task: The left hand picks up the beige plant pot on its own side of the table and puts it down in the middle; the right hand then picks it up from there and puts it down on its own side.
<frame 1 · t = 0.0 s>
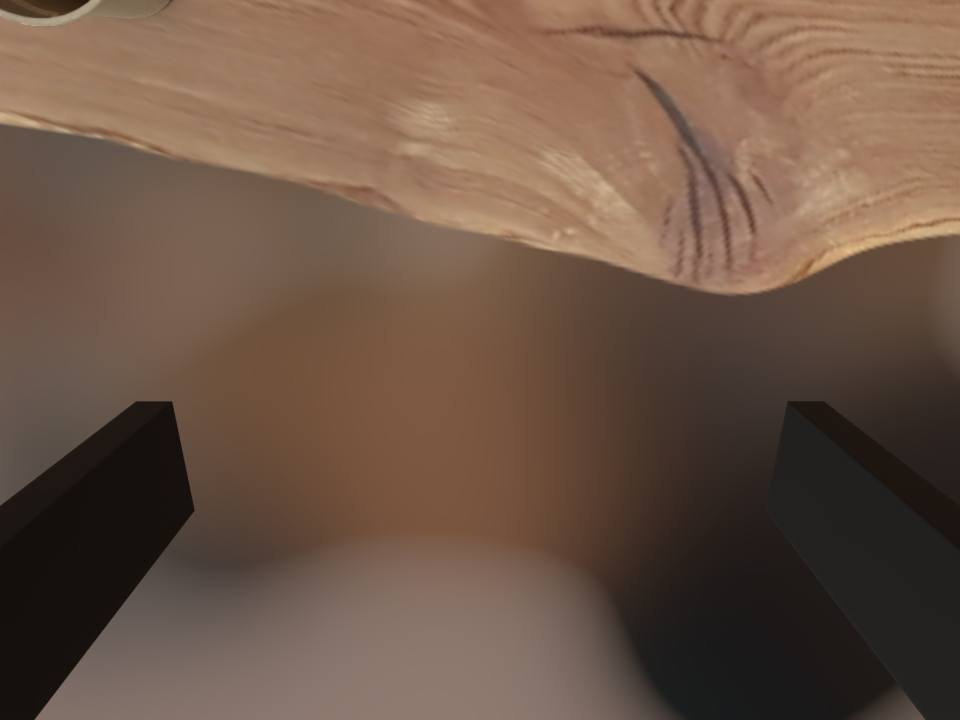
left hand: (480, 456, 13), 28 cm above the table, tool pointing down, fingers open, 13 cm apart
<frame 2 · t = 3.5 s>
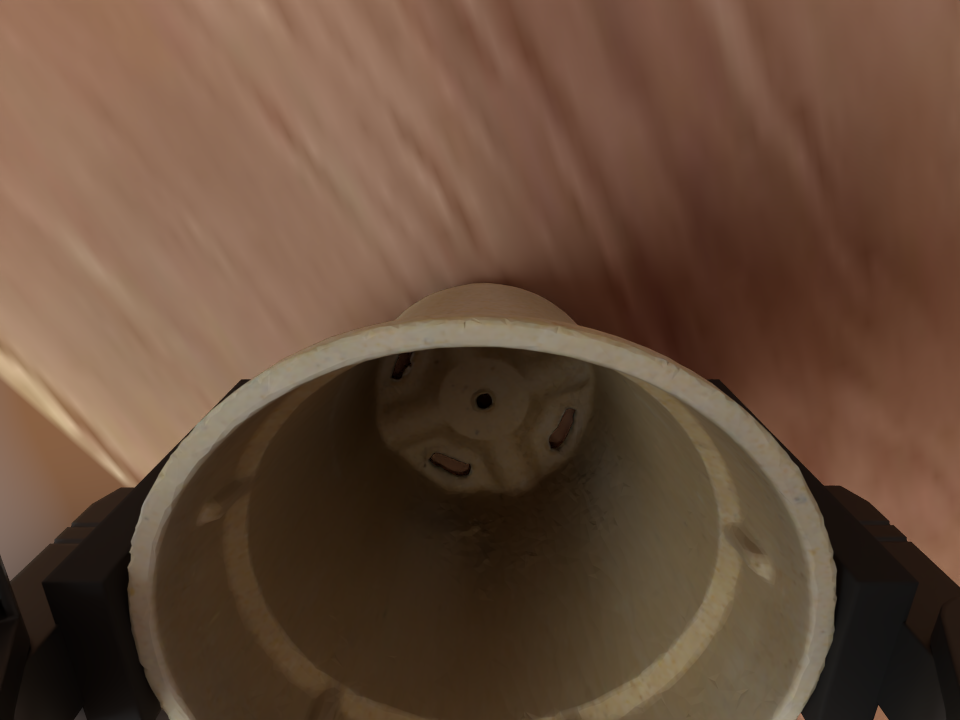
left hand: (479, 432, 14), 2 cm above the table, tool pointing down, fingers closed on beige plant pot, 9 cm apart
beige plant pot: (480, 392, 16), on the table, touching left hand
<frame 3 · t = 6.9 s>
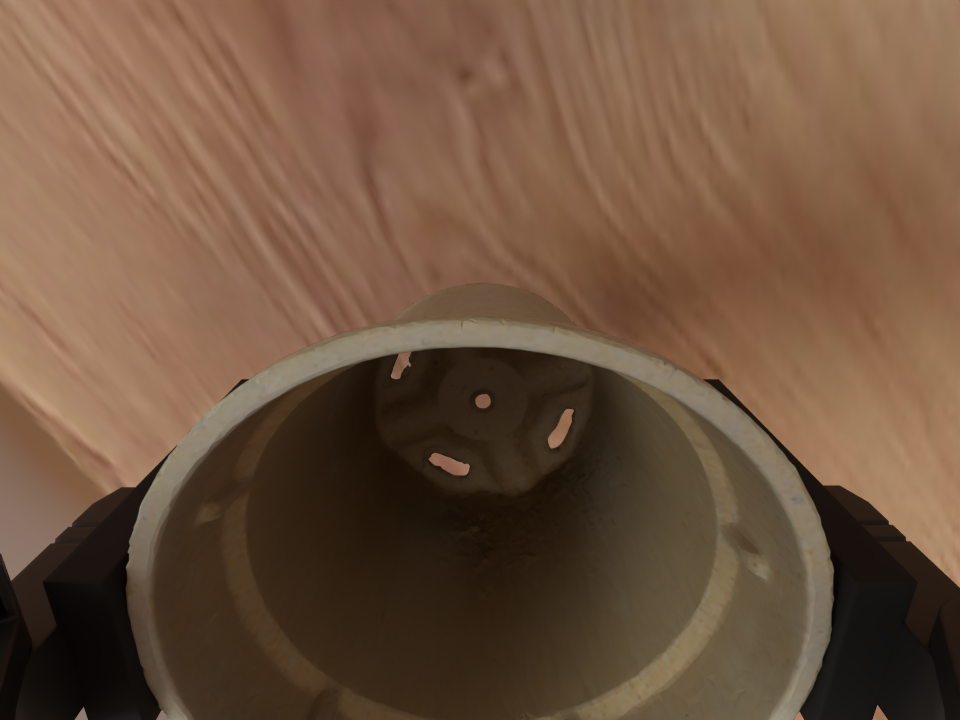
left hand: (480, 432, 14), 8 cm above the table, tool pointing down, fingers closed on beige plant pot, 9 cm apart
beige plant pot: (479, 392, 16), point 6 cm above the table, touching left hand
when the left hand's fingers open (4 cm above the table, at t = 10.7 s): beige plant pot drops 1 cm, on the table.
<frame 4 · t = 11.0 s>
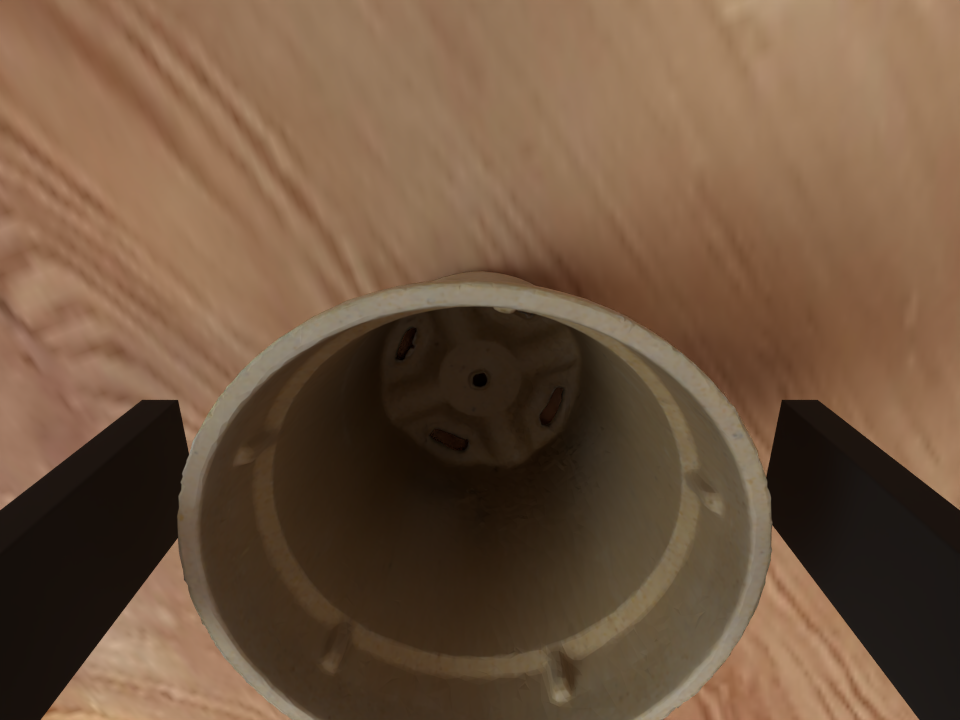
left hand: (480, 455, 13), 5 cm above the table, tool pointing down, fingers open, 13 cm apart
beige plant pot: (476, 373, 17), on the table
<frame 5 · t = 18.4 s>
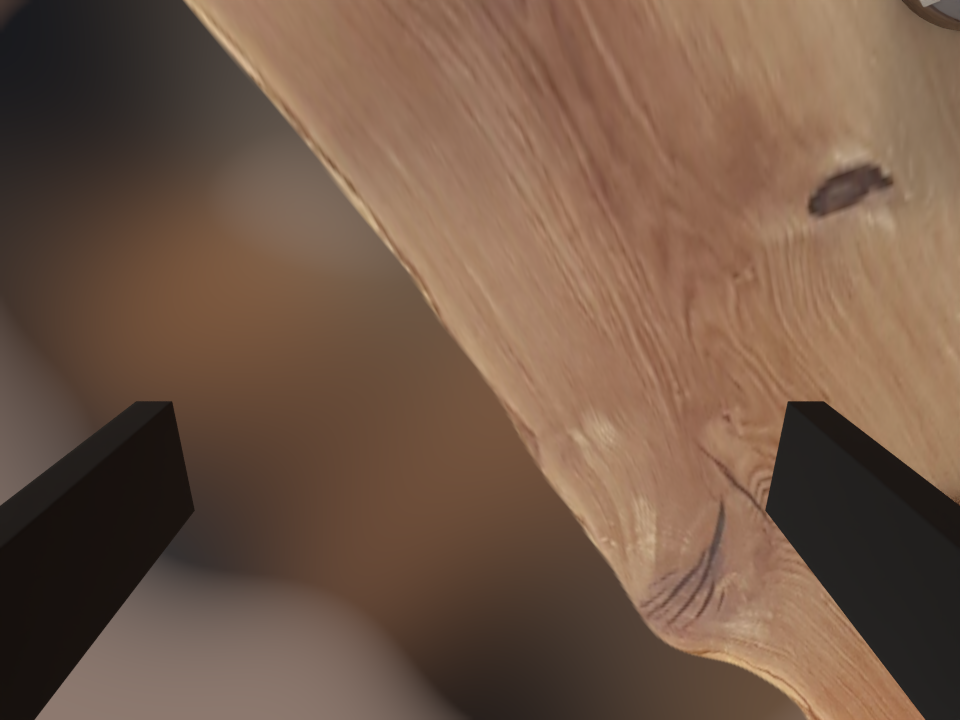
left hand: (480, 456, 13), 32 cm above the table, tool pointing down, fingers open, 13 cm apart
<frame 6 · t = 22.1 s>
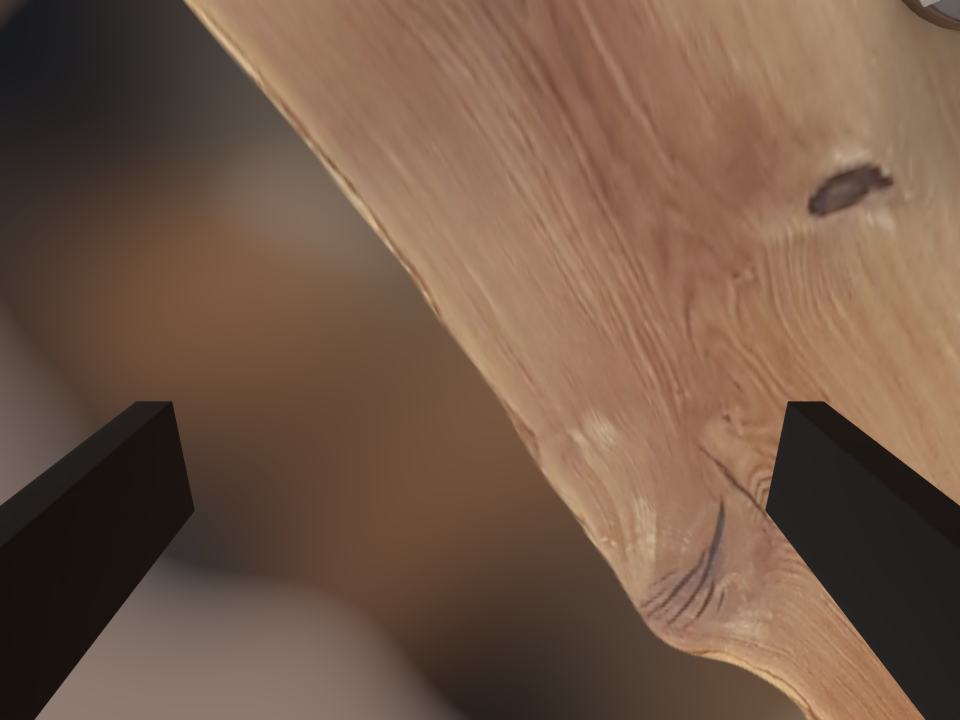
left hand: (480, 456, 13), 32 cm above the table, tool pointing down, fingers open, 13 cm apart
when the right hand's fingers open (4 cm above the table, at t = 25.8 s): beige plant pot drops 1 cm, on the table.
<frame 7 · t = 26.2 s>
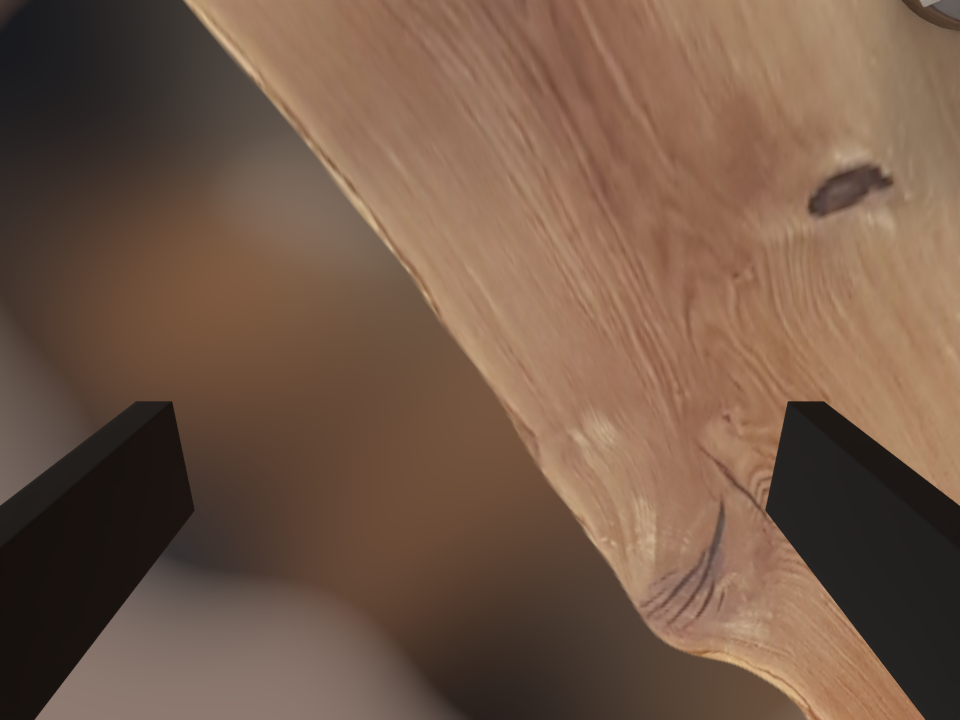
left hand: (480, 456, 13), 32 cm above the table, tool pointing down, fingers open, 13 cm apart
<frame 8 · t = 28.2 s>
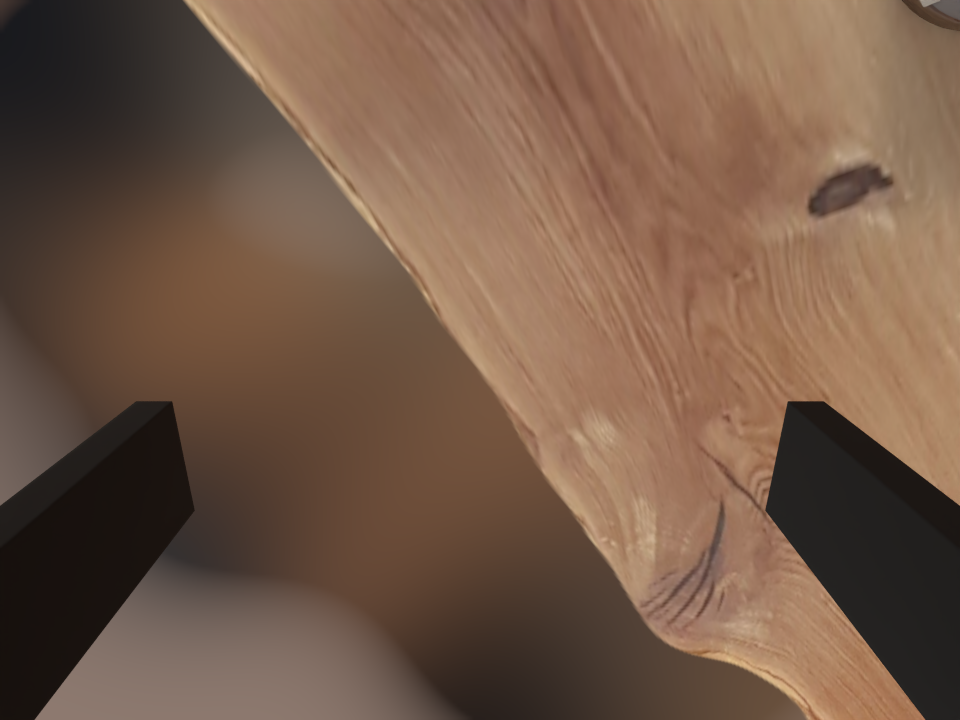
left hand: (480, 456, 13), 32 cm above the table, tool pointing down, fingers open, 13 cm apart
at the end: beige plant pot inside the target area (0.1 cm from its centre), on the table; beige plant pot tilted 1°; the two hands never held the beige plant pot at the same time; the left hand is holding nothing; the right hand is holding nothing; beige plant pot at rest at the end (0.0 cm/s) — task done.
